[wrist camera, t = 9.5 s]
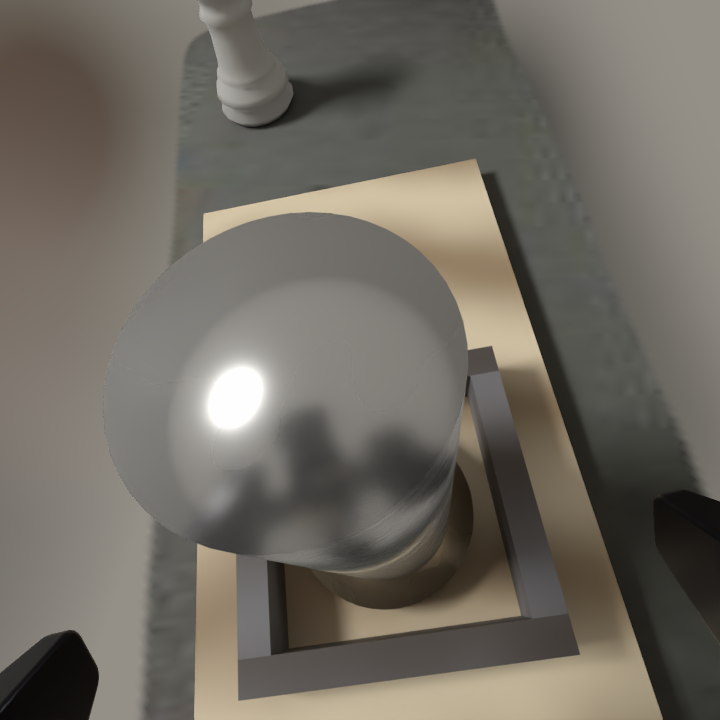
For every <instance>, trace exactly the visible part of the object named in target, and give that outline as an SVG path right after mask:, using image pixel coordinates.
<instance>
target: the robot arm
mask: <svg viewBox="0 0 720 720" xmlns="http://www.w3.org/2000/svg"><path fill="white" fill-rule="evenodd" d="M653 516H654V531H655V542H656V546H657V549H658V551H659V553H660V555H661V557H662V558H663V560H664V562H665V563H666V565H667V566H668V568H669V569H670V571H671V572H672V574H673V575H674V577H675V578H676V580H677V581H678V583H679V584H680V586H681V587H682V589H683V590H684V592H685V593H686V595H687V596H688V598H689V599H690V601H691V602H692V604H693V605H694V607H695V608H696V610H697V611H698V613H699V614H700V616H701V617H702V619H703V620H704V622H705V623H706V625H707V626H708V628H709V629H710V631H711V632H712V634H713V635H714V637H715V638H716V640H717V641H718V643H719V644H720V501H717V500H714V499H711V498H708V497H705V496H702V495H699V494H696V493H694V492H691V491H687V490H675V491H671V492H666V493H662V494H658V495H657V496H656V497H655V498H654V500H653ZM98 680H99V672H98V668H97V665H96V663H95V662H94V660H93V658H92V656H91V654H90V652H89V650H88V649H87V647H86V645H85V643H84V641H83V640H82V638H81V636H80V635H79V633H77V632H76V631H73V630H68V631H63V632H59V633H55V634H51V635H48V636H46V637H44V638H43V639H41V640H40V641H39V642H38V643H36V644H35V645H34V646H33V647H31V648H30V649H29V650H28V651H26V652H25V653H24V654H23V655H22V656H20V657H19V658H18V659H17V660H16V661H14V662H13V663H12V664H11V665H9V666H8V667H7V668H6V669H5V670H4V671H2V672H1V673H0V720H89V716H90V713H91V709H92V705H93V702H94V698H95V694H96V691H97V686H98Z"/></svg>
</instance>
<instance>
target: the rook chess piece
mask: <svg viewBox="0 0 720 720" xmlns="http://www.w3.org/2000/svg"><path fill="white" fill-rule="evenodd" d="M197 1H198V2H199V5H200V10H199V17H200V19H201V20H202V21H203V22H204V23H205V24H206V25H207V27H208V30H209V32H210V35H211V37H212V41H213V45H214V49H215V53H216V56H217V60H218V68H217V77H218V80H217V94H218V98H219V99H220V101H221V102H222V109H223V112H224V113H225V115H226V116H227V117H228V119H230V120H232V121H234V122H236V123H238V124H240V125H243V126H246V127H258V126H262V125H267V124H269V123H271V122H273V121H275V120H277V119H279V118H280V117H281V116H282V115H283V114H284V113H285V112H286V111H287V109H288V106H289V104H290V102H291V99H292V97H293V88H292V84H291V83H290V82H289V81H288V74H287V71H286V69H285V67H284V66H283V65H282V64H281V63H280V61H279V60H278V59H276V58H275V55H274V54H273V53H272V52H271V51H270V50H268V48H267V47H266V45H265V43H264V41H263V39H262V37H261V35H260V32H259V30H258V28H257V26H256V24H255V21H254V18H253V15H252V12H251V7H252V0H197Z"/></svg>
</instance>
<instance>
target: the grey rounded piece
mask: <svg viewBox="0 0 720 720" xmlns="http://www.w3.org/2000/svg"><path fill="white" fill-rule="evenodd" d="M467 373H468V347H467V338H466V333H465V328H464V323H463V319H462V316H461V313H460V310H459V308H458V305H457V302H456V300H455V298H454V296H453V294H452V292H451V290H450V288H449V286H448V285H447V283H446V281H445V280H444V278H443V277H442V276H441V274H440V273H439V272H438V270H437V269H436V268H435V266H434V265H433V264H432V263H431V262H430V261H429V260H428V259H427V258H426V257H425V256H424V255H423V254H422V253H421V252H420V251H419V250H418V249H416V248H415V247H414V246H412V245H411V244H410V243H409V242H407V241H406V240H405V239H403V238H401V237H400V236H398V235H396V234H394V233H393V232H391V231H389V230H387V229H385V228H383V227H380V226H378V225H376V224H373V223H371V222H368V221H365V220H361V219H358V218H354V217H351V216H345V215H339V214H333V213H319V212H301V213H287V214H281V215H275V216H269V217H265V218H261V219H257V220H254V221H250V222H247V223H244V224H242V225H239V226H236V227H233V228H231V229H228V230H226V231H224V232H222V233H220V234H218V235H216V236H214V237H212V238H210V239H208V240H207V241H205V242H203V243H202V244H200V245H199V246H197V247H195V248H194V249H192V250H191V251H189V252H188V253H187V254H185V255H184V256H183V257H181V258H180V259H179V260H177V261H176V262H175V263H174V264H173V265H172V266H171V267H169V268H168V269H167V270H166V271H165V272H164V273H163V274H162V275H161V276H160V277H159V278H158V279H157V280H156V281H155V282H154V284H152V286H151V287H150V288H149V289H148V290H147V291H146V292H145V294H144V295H143V296H142V298H141V299H140V301H139V302H138V303H137V305H136V306H135V308H134V309H133V310H132V312H131V314H130V316H129V317H128V319H127V321H126V323H125V324H124V326H123V328H122V330H121V332H120V334H119V337H118V339H117V341H116V344H115V346H114V348H113V352H112V355H111V358H110V362H109V365H108V368H107V374H106V379H105V385H104V395H103V418H104V428H105V435H106V439H107V443H108V447H109V451H110V455H111V457H112V460H113V462H114V464H115V467H116V469H117V472H118V474H119V476H120V478H121V479H122V481H123V482H124V484H125V485H126V487H127V489H128V490H129V492H130V494H131V495H132V496H133V497H134V498H135V499H136V501H137V502H138V503H139V504H140V505H141V506H142V507H143V509H144V510H145V511H146V512H147V513H148V514H150V515H151V516H152V517H153V518H154V519H156V520H157V521H158V522H159V523H161V524H162V525H163V526H164V527H166V528H167V529H169V530H171V531H173V532H174V533H176V534H178V535H180V536H181V537H183V538H185V539H187V540H189V541H192V542H195V543H197V544H200V545H202V546H205V547H208V548H211V549H215V550H220V551H225V552H229V553H234V554H239V555H244V556H249V557H255V558H260V559H265V560H270V561H275V562H280V563H286V564H291V565H296V566H301V567H306V568H310V570H311V571H312V572H313V573H314V575H315V576H316V577H317V579H318V580H319V581H320V582H321V583H322V584H323V585H324V586H325V587H326V588H327V589H329V590H330V591H331V592H333V593H334V594H335V595H337V596H338V597H340V598H342V599H344V600H345V601H347V602H350V603H352V604H355V605H358V606H361V607H365V608H370V609H380V610H388V609H398V608H403V607H407V606H411V605H413V604H416V603H418V602H421V601H423V600H425V599H427V598H428V597H430V596H432V595H433V594H435V593H436V592H437V591H439V590H440V589H441V588H442V587H443V586H444V585H445V584H446V583H447V582H448V581H449V580H450V579H451V578H452V577H453V575H454V574H455V572H456V571H457V570H458V568H459V567H460V565H461V563H462V561H463V559H464V557H465V555H466V553H467V550H468V547H469V545H470V540H471V536H472V531H473V521H474V516H473V503H472V497H471V492H470V489H469V486H468V483H467V480H466V478H465V476H464V474H463V471H462V470H461V468H460V467H459V465H458V463H457V462H456V458H457V451H458V443H459V436H460V428H461V421H462V413H463V406H464V398H465V391H466V382H467Z"/></svg>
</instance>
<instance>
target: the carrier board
mask: <svg viewBox="0 0 720 720" xmlns="http://www.w3.org/2000/svg"><path fill="white" fill-rule="evenodd" d="M301 212H319V213H333V214H339V215H345V216H351V217H354V218H358V219H361V220H365V221H368V222H371V223H373V224H376V225H378V226H380V227H383V228H385V229H387V230H389V231H391V232H393V233H394V234H396V235H398V236H400V237H401V238H403V239H405V240H406V241H407V242H409V243H410V244H411V245H412V246H414V247H415V248H416V249H418V250H419V251H420V252H421V253H422V254H423V255H424V256H425V257H426V258H427V259H428V260H429V261H430V262H431V263H432V264H433V265H434V266H435V268H436V269H437V270H438V272H439V273H440V274H441V276H442V277H443V278H444V280H445V281H446V283H447V285H448V286H449V288H450V290H451V292H452V294H453V296H454V298H455V300H456V302H457V305H458V308H459V310H460V313H461V316H462V319H463V323H464V328H465V333H466V338H467V347H468V373H467V382H466V391H465V398H464V406H463V413H462V421H461V428H460V436H459V443H458V451H457V458H456V462H457V463H458V465H459V467H460V468H461V470H462V471H463V474H464V476H465V478H466V480H467V483H468V486H469V489H470V492H471V497H472V503H473V516H474V521H473V531H472V536H471V540H470V545H469V547H468V550H467V553H466V555H465V557H464V559H463V561H462V563H461V565H460V567H459V568H458V570H457V571H456V572H455V574H454V575H453V577H452V578H451V579H450V580H449V581H448V582H447V583H446V584H445V585H444V586H443V587H442V588H441V589H440V590H439V591H437V592H436V593H435V594H433V595H432V596H430V597H428V598H427V599H425V600H423V601H421V602H418V603H416V604H413V605H411V606H407V607H403V608H398V609H388V610H380V609H370V608H365V607H361V606H358V605H355V604H352V603H350V602H347V601H345V600H344V599H342V598H340V597H338V596H337V595H335V594H334V593H333V592H331V591H330V590H329V589H327V588H326V587H325V586H324V585H323V584H322V583H321V582H320V581H319V580H318V579H317V577H316V576H315V575H314V573H313V572H312V571H311V570H310V568H306V567H301V566H296V565H291V564H286V563H280V562H275V561H270V560H265V559H260V558H255V557H249V556H244V555H239V554H234V553H229V552H225V551H220V550H215V549H211V548H208V547H205V546H202V545H200V544H198V546H197V600H196V654H195V709H194V720H663V718H662V715H661V712H660V709H659V706H658V703H657V700H656V697H655V694H654V691H653V688H652V685H651V682H650V679H649V676H648V673H647V670H646V667H645V664H644V661H643V658H642V655H641V652H640V649H639V646H638V643H637V640H636V637H635V634H634V631H633V628H632V625H631V622H630V619H629V616H628V613H627V610H626V607H625V604H624V601H623V598H622V595H621V592H620V589H619V586H618V583H617V580H616V577H615V574H614V571H613V568H612V565H611V562H610V559H609V556H608V553H607V550H606V547H605V544H604V542H603V539H602V536H601V533H600V530H599V527H598V524H597V521H596V518H595V515H594V512H593V509H592V506H591V503H590V500H589V497H588V494H587V491H586V488H585V485H584V482H583V479H582V476H581V473H580V470H579V467H578V464H577V461H576V458H575V455H574V452H573V449H572V446H571V443H570V440H569V437H568V434H567V431H566V428H565V425H564V422H563V419H562V416H561V413H560V410H559V407H558V404H557V401H556V398H555V395H554V392H553V389H552V386H551V383H550V380H549V377H548V374H547V371H546V368H545V365H544V362H543V359H542V356H541V353H540V350H539V347H538V344H537V341H536V338H535V335H534V332H533V329H532V326H531V323H530V320H529V317H528V314H527V311H526V308H525V305H524V302H523V299H522V296H521V293H520V290H519V287H518V284H517V281H516V278H515V275H514V272H513V269H512V266H511V263H510V260H509V257H508V254H507V251H506V248H505V245H504V242H503V239H502V236H501V233H500V231H499V228H498V225H497V222H496V219H495V216H494V213H493V210H492V207H491V204H490V201H489V198H488V195H487V192H486V189H485V186H484V183H483V180H482V177H481V174H480V171H479V168H478V165H477V162H476V159H472V160H467V161H462V162H457V163H452V164H448V165H443V166H438V167H433V168H428V169H423V170H418V171H413V172H408V173H403V174H398V175H393V176H388V177H383V178H378V179H373V180H369V181H364V182H359V183H354V184H349V185H344V186H339V187H334V188H329V189H324V190H319V191H314V192H309V193H304V194H299V195H294V196H290V197H285V198H280V199H275V200H270V201H265V202H260V203H255V204H250V205H245V206H240V207H235V208H230V209H225V210H220V211H215V212H211V213H206V214H204V221H203V242H205V241H207V240H208V239H210V238H212V237H214V236H216V235H218V234H220V233H222V232H224V231H226V230H228V229H231V228H233V227H236V226H239V225H242V224H244V223H247V222H250V221H254V220H257V219H261V218H265V217H269V216H275V215H281V214H287V213H301Z"/></svg>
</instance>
